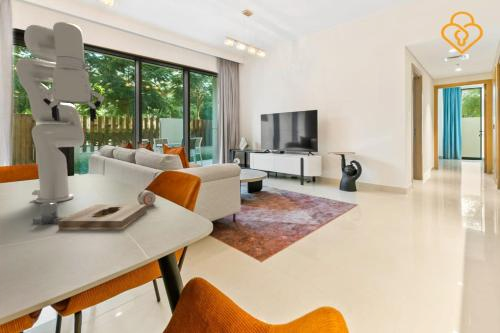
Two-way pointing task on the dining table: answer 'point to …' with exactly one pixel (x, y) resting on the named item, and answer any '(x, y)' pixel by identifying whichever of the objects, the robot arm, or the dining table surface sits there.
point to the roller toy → (146, 198)
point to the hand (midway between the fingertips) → (75, 121)
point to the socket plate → (103, 217)
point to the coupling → (48, 214)
